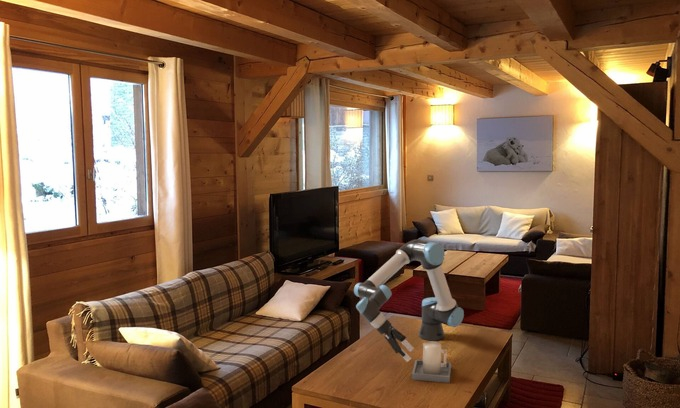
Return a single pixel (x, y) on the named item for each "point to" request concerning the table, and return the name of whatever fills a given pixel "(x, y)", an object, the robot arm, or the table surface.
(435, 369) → the white pitcher
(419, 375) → the slate tray
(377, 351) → the table surface
